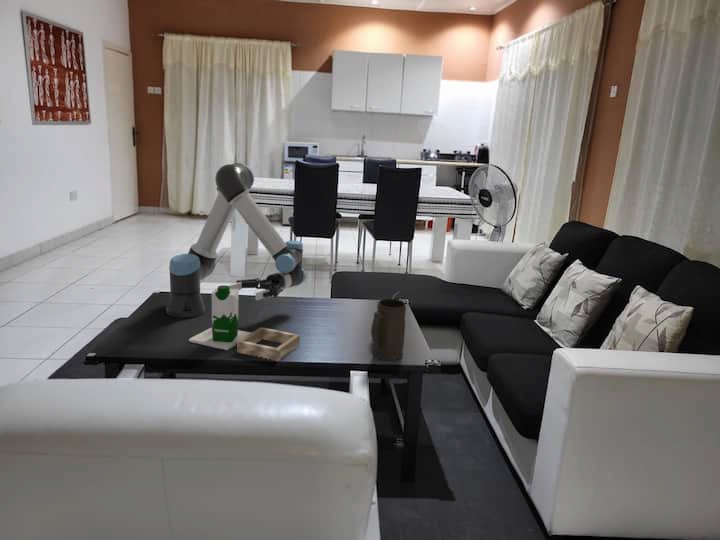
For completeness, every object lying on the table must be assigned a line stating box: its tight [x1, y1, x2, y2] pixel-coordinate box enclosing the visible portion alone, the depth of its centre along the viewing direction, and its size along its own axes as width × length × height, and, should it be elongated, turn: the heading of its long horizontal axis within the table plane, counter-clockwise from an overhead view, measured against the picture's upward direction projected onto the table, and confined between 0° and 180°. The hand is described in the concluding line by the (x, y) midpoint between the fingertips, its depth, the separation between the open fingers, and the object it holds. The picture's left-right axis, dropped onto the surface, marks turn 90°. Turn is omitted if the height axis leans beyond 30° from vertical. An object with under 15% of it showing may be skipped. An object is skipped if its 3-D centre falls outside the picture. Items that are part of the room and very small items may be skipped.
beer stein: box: [370, 298, 407, 361], centre depth 183 cm, size 15×11×20 cm
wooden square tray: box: [236, 326, 301, 362], centre depth 185 cm, size 16×16×4 cm
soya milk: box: [210, 284, 240, 342], centre depth 188 cm, size 9×9×20 cm
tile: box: [188, 326, 252, 351], centre depth 192 cm, size 16×16×1 cm
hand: (242, 292), depth 198 cm, fingers open, 13 cm apart
